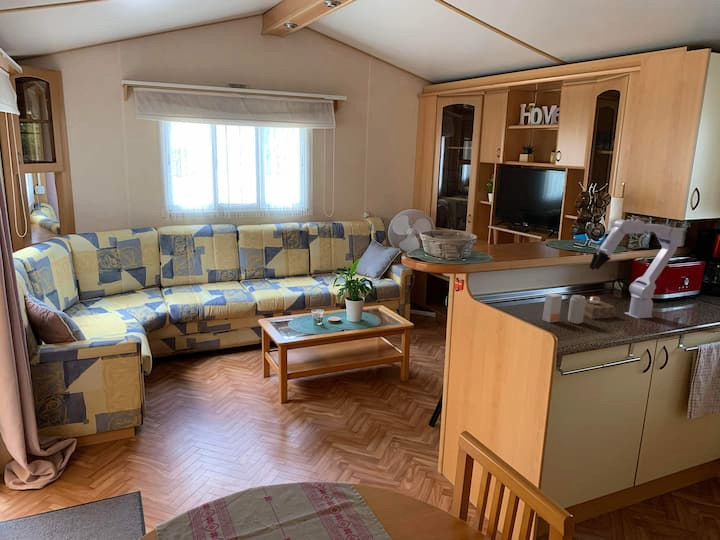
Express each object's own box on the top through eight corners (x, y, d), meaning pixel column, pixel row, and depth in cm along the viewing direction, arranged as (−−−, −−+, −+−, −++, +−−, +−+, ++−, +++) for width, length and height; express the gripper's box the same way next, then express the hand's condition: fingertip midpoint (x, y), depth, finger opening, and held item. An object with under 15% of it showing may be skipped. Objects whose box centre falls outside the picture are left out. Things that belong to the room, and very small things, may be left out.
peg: (594, 303, 262) (595, 295, 262) (600, 306, 258) (602, 298, 258) (586, 304, 261) (587, 296, 260) (593, 306, 257) (594, 298, 256)
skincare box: (549, 323, 243) (552, 296, 241) (541, 320, 247) (545, 294, 244) (559, 321, 246) (562, 295, 243) (551, 318, 250) (555, 293, 247)
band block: (593, 308, 269) (595, 299, 268) (613, 317, 257) (615, 306, 256) (571, 310, 264) (573, 300, 263) (591, 318, 253) (593, 308, 251)
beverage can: (583, 325, 243) (587, 299, 240) (568, 323, 244) (572, 297, 241) (581, 320, 249) (584, 295, 246) (566, 319, 250) (569, 293, 247)
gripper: (598, 239, 256) (581, 263, 257) (607, 237, 242) (589, 263, 243) (612, 247, 255) (595, 272, 256) (621, 246, 241) (603, 271, 242)
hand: (593, 268), depth 250 cm, fingers open, 7 cm apart
